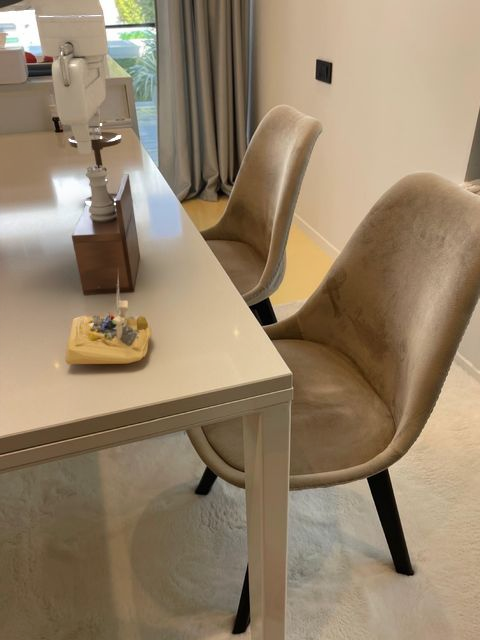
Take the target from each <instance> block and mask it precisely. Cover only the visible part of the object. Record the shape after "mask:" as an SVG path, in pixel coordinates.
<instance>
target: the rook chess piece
mask: <svg viewBox="0 0 480 640" xmlns="http://www.w3.org/2000/svg"><path fill="white" fill-rule="evenodd" d="M104 167H105V166H99V168H100V169H99V168H98V166H96V165H93V166H92V165H89V166H88V167H86V170H87V171H86V173H85V177H87V179H88V180H89V183H88V185H89V187H90V191H91V196H92V202H91V204H90V205H91V206H90V207H89V212H90V213H91V214H90V216H89V217H90V218H91V219H92V220H93V221H95V222H107V221H111V220H114V219H115V218H116V217H117V212H115V211H116V206H115V205H114V204H113V203H112V201H111V199H110V197H109V194H110V193H109V191H108V186H107V185H108V182H106V180H105V179H106V177H107V175H108V172H106V171H105V170H104ZM108 193H109V194H108Z"/></svg>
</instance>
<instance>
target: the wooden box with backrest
mask: <svg viewBox="0 0 480 640" xmlns="http://www.w3.org/2000/svg"><path fill="white" fill-rule="evenodd" d="M116 194H117V196H116V199H115V204H114V205H115V206H116V211H115V212H117V217H116V218H115V219H114V220H111V221H107V222H95V221H93V220H92V219H91V218H90V217H89V216H90V214H91V213H90V212H89V207H90V206H91V205H89V206H85V205H84V208H83V210H82V213H81V215H79V216H80V217H79V218H78V221H77V223H76V225H75V227H74V229H73V231H72V233H71V241H72V245H73V250H74V256H75V261H76V264H77V269H78V276H79V280H80V285H81V289H82V294H83V295H84V296H86V295H103V294H117V284H118V276H119V286H118V288H119V294H120V293H121V294H122V293H135V289H136V284H137V278H138V273H139V272H138V271H139V266H140V261H141V252H140V245H139V238H138V231H137V224H136V216H135V210H134V209H135V208H134V202H133V195H132V189H131V182H130V174H129V173H124V174H123V176H122V179H121V182H120V185H119V187H118V191H117V193H116ZM98 286H99V287H100V288H98Z"/></svg>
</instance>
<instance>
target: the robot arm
mask: <svg viewBox="0 0 480 640" xmlns="http://www.w3.org/2000/svg"><path fill="white" fill-rule="evenodd" d="M27 12H29V13H30V12H33V13H34V17H35V21H36V27H37V33H38V37H39V43H40V48H41V54H42V56H45V57H51V58H52V63H51V77H52V85H53V92H54V98H55V104H56V112H57V116H58V119H59V121H60V124H61V125H62V126H70V128H71V132H72V134H73V135H72V136H74V137H75V140H76V142H77V148H76V149H77V152H78V153H79V155H90V154H91V153H92V151H93V150H92V143H91V140H98V139H99V138H100V137H101V132H102V130H101V125H100V123H101V110H100V108H101V107H102V105H103V104H104V103H105V102H106V99H107V98H106V96H107V85H106V67H105V57H104V56H107V55H108V54H110V53H109V52H110V51H109V44H108V37H107V30H106V21H105V13H104V10H103V7H102V4H101V2H100V0H0V13H27Z"/></svg>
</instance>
